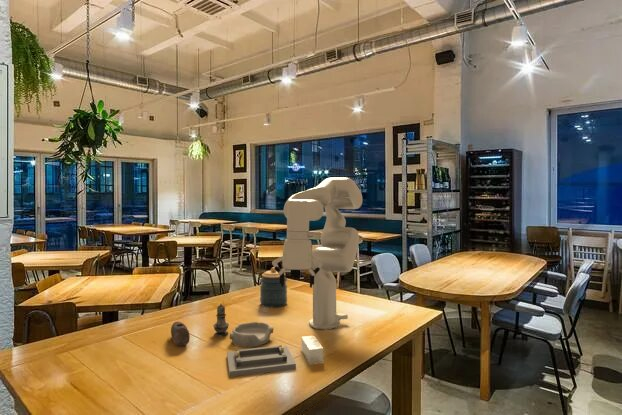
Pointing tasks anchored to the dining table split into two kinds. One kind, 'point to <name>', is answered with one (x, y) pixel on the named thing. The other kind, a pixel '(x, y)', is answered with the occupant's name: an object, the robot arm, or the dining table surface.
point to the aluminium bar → (312, 349)
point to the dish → (251, 334)
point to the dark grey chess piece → (221, 322)
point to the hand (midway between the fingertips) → (297, 286)
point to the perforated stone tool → (180, 334)
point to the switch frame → (260, 360)
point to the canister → (272, 289)
